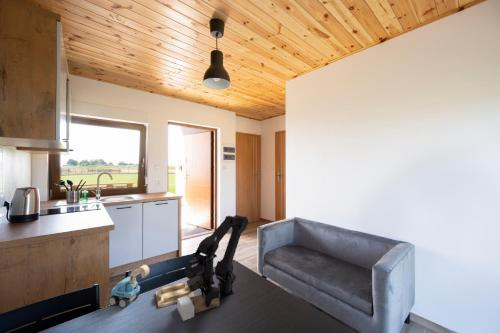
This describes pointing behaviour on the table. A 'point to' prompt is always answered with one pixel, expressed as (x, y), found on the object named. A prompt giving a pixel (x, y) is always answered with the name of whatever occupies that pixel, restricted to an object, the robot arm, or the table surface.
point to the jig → (172, 294)
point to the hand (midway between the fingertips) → (205, 304)
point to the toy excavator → (128, 288)
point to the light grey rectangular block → (185, 307)
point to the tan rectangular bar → (203, 303)
